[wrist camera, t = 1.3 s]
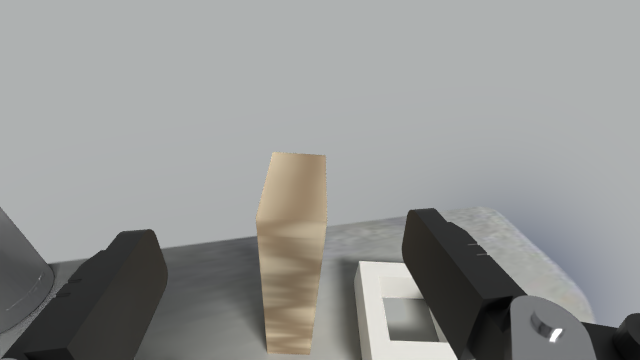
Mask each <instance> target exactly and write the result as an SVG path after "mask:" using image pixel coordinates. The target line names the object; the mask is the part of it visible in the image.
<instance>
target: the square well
mask: <svg viewBox="0 0 640 360" xmlns="http://www.w3.org/2000/svg"><path fill="white" fill-rule="evenodd" d="M354 289H355V298H356V308H357V317H358V326H359V336H360V345H361V355H362V360H458V359H457V357H456V355H455V354H454V352H453V350H452V348H451V346H450V345H449V343H448V341H447V339H446V337H445V336H444V334H443V332H442V330H441V328H440V327H439V325H438V323H437V321H436V319H435V318H434V316H433V314H432V312H431V310H430V309H429V310H430V314H431V317H432V320H433V323H434V326H435V329H436V332H437V336H438V339H439V342H415V341H390V338H389V333H388V327H387V322H386V316H385V311H384V306H383V300H382V297H388V298H411V299H424V298H423V296H422V294H421V292H420V290H419V289H418V287H417V285H416V283H415V281H414V280H413V278H412V276H411V274H410V272H409V271H408V269H407V267H406V265H405V263H388V262H368V261H359V264H358V268H357V271H356V275H355V279H354Z"/></svg>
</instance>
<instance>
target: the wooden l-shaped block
mask: <svg viewBox="0 0 640 360" xmlns="http://www.w3.org/2000/svg"><path fill="white" fill-rule="evenodd" d="M256 225H257V237H258V249H259V260H260V272H261V283H262V295H263V307H264V318H265V330H266V341H267V353H277V354H306V355H310V348H311V341H312V333H313V325H314V318H315V310H316V303H317V295H318V287H319V280H320V272H321V264H322V257H323V249H324V241H325V234H326V226H327V197H326V157H325V155H310V154H296V153H281V152H273V154H272V158H271V161H270V165H269V169H268V173H267V177H266V181H265V185H264V188H263V192H262V196H261V200H260V203H259V208H258V211H257V215H256Z"/></svg>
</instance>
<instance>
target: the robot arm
mask: <svg viewBox="0 0 640 360" xmlns="http://www.w3.org/2000/svg"><path fill="white" fill-rule="evenodd" d="M402 256H403V260H404V263H405V265H406V267H407V269H408V271H409V272H410V274H411V276H412V278H413V280H414V281H415V283H416V285H417V287H418V289H419V290H420V292H421V294H422V296H423V298H424V299H425V301H426V303H427V305H428V307H429V309H430V310H431V312H432V314H433V316H434V318H435V319H436V321H437V323H438V325H439V327H440V328H441V330H442V332H443V334H444V336H445V337H446V339H447V341H448V343H449V345H450V346H451V348H452V350H453V352H454V354H455V355H456V357H457V359H458V360H640V313H635V314H631V315H629V316H627V318H625V320H624V321H623V322H622V324H621V325H620V326H619V328H614V327H608V326H603V325H597V324H591V323H585V322H580V321H579V320H578V319H577V318H576V317H575V316H573V315H572V314H571V313H570V312H568V311H567V310H566V309H564V308H563V307H561V306H559V305H557V304H555V303H553V302H551V301H549V300H546V299H544V298H540V297H536V296H528V295H527V294H526V293H525V292H524V291H523V290H522V289H521V288H520V287H519V286H518V285H517V284H516V283H515V281H514V280H513V279H512V278H511V277H510V276H509V275H508V274H507V273H506V272H505V271H504V270H503V269H502V268H501V267H500V266H499V265H498V264H497V263H496V262H495V261H494V260H493V259H492V257H491V256H490V255H487V252H486V251H485V250H484V249H483V248H482V247H481V246H480V245H478V244H477V242H476V241H475V240H474V239H473V238H472V237H471V236H470V235H469V234H468V232H467V231H465V230H463V229H462V228H460V227H459V226H457V225H455V224H454V223H452V222H447V221H446V220H445V219H444V218H443V217H442V216H441V215H440V214H439V213H438V211H437V210H436V209H434V208H428V209H417V210H416V209H415V210H410V211H409V212H408V215H407V220H406V226H405V231H404V237H403V243H402ZM167 277H168V272H167V266H166V263H165V260H164V258H163V255H162V252H161V249H160V246H159V243H158V240H157V237H156V235H155V233H154V231H152V230H151V229H147V230H136V231H135V230H134V231H123V232H120V233H119V234H118V235H117V236H116V238H115V239H114V240H113V242H112V243H111V244H110V245H109V246H108V248H107V249H106V250H102V251H100V252H98V253H97V254H96V255H94V256H93V257H91V258H90V259H89V260H87V261H86V262H84V263H83V264H82V265H81V266H80V267H79V268H78V269H77V271H76V272H75V273H74V274H73V275H72V276H71V278H70V279H69V280H68V284H65V285H64V286H63V287H62V288H61V289H60V290H59V292H58V293H57V294H56V298H53V299H52V300H51V301H50V302H49V303H48V304H47V306H46V307H45V308H44V309H43V310H42V311H41V313H40V314H39V315H38V316H37V317H36V318H35V320H34V321H33V322H32V323H31V324H30V325H29V327H28V328H27V329H26V330H25V331H24V332H23V334H22V335H21V336H20V337H19V338H18V339H17V341H16V342H15V343H14V344H13V345H12V346H11V348H10V349H9V350H8V351H7V352H6V353H5V355H4V356H3V357H2V358H1V359H0V360H133V359H134V357H135V355H136V353H137V351H138V348H139V346H140V344H141V342H142V339H143V337H144V335H145V333H146V330H147V328H148V326H149V324H150V321H151V319H152V317H153V315H154V312H155V310H156V308H157V306H158V303H159V301H160V299H161V297H162V294H163V292H164V290H165V288H166V284H167ZM53 280H54V275H53V271H52V270H51V268H50V267H49V266H48V264H47V263H46V262H45V261H44V260H43V258H42V257H41V256H40V255H39V254H38V252H37V251H36V250H35V249H34V247H33V246H32V245H31V244H30V242H29V241H28V240H27V239H26V237H25V236H24V235H23V234H22V233H21V231H20V230H19V229H18V228H17V227H16V225H15V224H14V223H13V222H12V221H11V219H9V217H8V216H7V215H6V214H5V212H4V211H3V210H2V209H1V207H0V333H2V332H4V331H6V330H8V329H9V328H11V327H12V326H14V325H15V324H17V323H18V322H20V321H21V320H23V319H24V318H25V317H27V316H28V315H29V314H30V313H31V312H33V311H34V310H35V309H36V308H37V307H38V306H39V305H40V304H41V302H42V301H43V300H44V299H45V297H46V296H47V295H48V293H49V291H50V289H51V287H52V285H53Z"/></svg>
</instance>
